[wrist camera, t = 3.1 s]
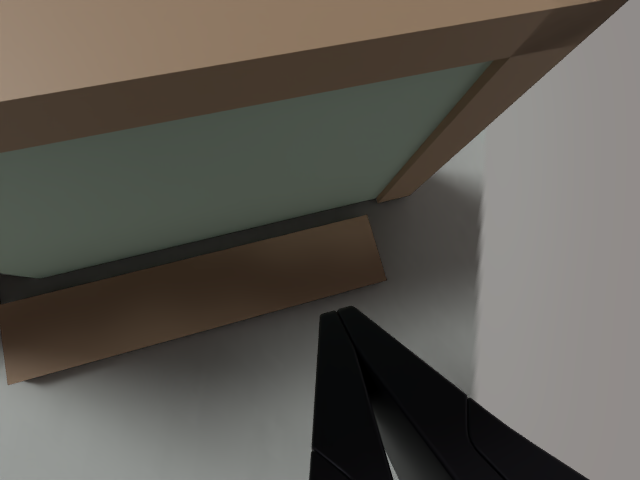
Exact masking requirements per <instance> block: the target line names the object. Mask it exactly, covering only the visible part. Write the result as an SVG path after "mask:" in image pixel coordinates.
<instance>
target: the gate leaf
mask: <svg viewBox="0 0 640 480" xmlns="http://www.w3.org/2000/svg"><path fill="white" fill-rule="evenodd" d="M627 1H628V0H0V273H2V274H9V275H17V276H24V277H31V278H38V279H40V278H45V277H49V276H53V275H57V274H61V273H65V272H70V271H74V270H78V269H82V268H86V267H90V266H95V265H99V264H103V263H107V262H111V261H116V260H120V259H124V258H128V257H132V256H136V255H141V254H145V253H149V252H153V251H157V250H162V249H166V248H170V247H174V246H178V245H182V244H187V243H191V242H195V241H199V240H203V239H208V238H212V237H216V236H220V235H224V234H228V233H233V232H237V231H241V230H245V229H249V228H253V227H258V226H262V225H266V224H270V223H274V222H279V221H283V220H287V219H291V218H295V217H299V216H304V215H308V214H312V213H316V212H320V211H325V210H329V209H333V208H337V207H341V206H345V205H350V204H354V203H358V202H362V201H366V200H371V199H375V198H376V199H377V202H378V203H381V202H385V201H389V200H393V199H397V198H401V197H405V196H410V195H411V194H412V193H413V192H414V191H415V190H416V189H417V188H419V187H420V186H421V185H422V184H423V183H424V182H425V181H426V180H428V179H429V178H430V177H431V176H432V175H433V174H434V173H435V172H437V171H438V170H439V169H440V168H441V167H442V166H443V165H444V164H446V163H447V162H448V161H449V160H450V159H451V158H452V157H453V156H454V155H456V154H457V153H458V152H459V151H460V150H461V149H462V148H463V147H465V146H466V145H467V144H468V143H469V142H470V141H471V140H472V139H474V138H475V137H476V136H477V135H478V134H479V133H480V132H481V131H483V130H484V129H485V128H486V127H487V126H488V125H489V124H490V123H491V122H493V121H494V120H495V119H496V118H497V117H498V116H499V115H500V114H502V113H503V112H504V111H505V110H506V109H507V108H508V107H509V106H510V105H512V104H513V103H514V102H515V101H516V100H517V99H518V98H519V97H521V96H522V95H523V94H524V93H525V92H526V91H527V90H528V89H529V88H531V87H532V86H533V85H534V84H535V83H536V82H537V81H539V80H540V79H541V78H542V77H543V76H544V75H545V74H546V73H547V72H549V71H550V70H551V69H552V68H553V67H554V66H555V65H557V64H558V63H559V62H560V61H561V60H562V59H563V58H564V57H566V55H568V54H569V53H570V52H571V51H572V50H573V49H574V48H576V47H577V46H578V45H579V44H580V43H581V42H582V41H583V40H585V39H586V38H587V37H588V36H589V35H590V34H591V33H592V32H594V31H595V30H596V29H597V28H598V27H599V26H600V25H601V24H603V23H604V22H605V21H606V20H607V19H608V18H609V17H610V16H611V15H613V14H614V13H615V12H616V11H617V10H618V9H619V8H620V7H622V5H624V4H625V3H626V2H627Z"/></svg>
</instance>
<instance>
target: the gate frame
mask: <svg viewBox="0 0 640 480" xmlns="http://www.w3.org/2000/svg"><path fill="white" fill-rule="evenodd" d="M0 274H2V273H0ZM4 275H9V274H4ZM12 276H17V275H12ZM386 280H387V279H386V276H385V272H384V269H383V266H382V262H381V259H380V256H379V252H378V249H377V246H376V242H375V239H374V236H373V233H372V229H371V226H370V223H369V219H368V216H367V215H363V216H359V217H355V218H351V219H347V220H343V221H339V222H335V223H331V224H327V225H323V226H319V227H314V228H310V229H306V230H302V231H298V232H294V233H290V234H286V235H282V236H278V237H274V238H270V239H266V240H262V241H257V242H253V243H249V244H245V245H241V246H237V247H233V248H229V249H225V250H221V251H217V252H213V253H209V254H205V255H200V256H196V257H192V258H188V259H184V260H180V261H176V262H172V263H168V264H164V265H160V266H156V267H152V268H148V269H143V270H139V271H135V272H131V273H127V274H123V275H119V276H115V277H111V278H107V279H103V280H99V281H95V282H91V283H86V284H82V285H78V286H74V287H70V288H66V289H62V290H58V291H54V292H50V293H46V294H42V295H38V296H34V297H29V298H25V299H21V300H17V301H13V302H9V303H5V304H1V301H0V329H1V337H2V344H3V352H4V360H5V367H6V375H7V383H8V385H10V384H14V383H18V382H21V381H25V380H29V379H32V378H36V377H39V376H43V375H47V374H50V373H54V372H58V371H61V370H65V369H68V368H72V367H76V366H79V365H83V364H86V363H90V362H94V361H97V360H101V359H104V358H108V357H112V356H115V355H119V354H122V353H126V352H130V351H133V350H137V349H141V348H144V347H148V346H151V345H155V344H159V343H162V342H166V341H169V340H173V339H177V338H180V337H184V336H187V335H191V334H195V333H198V332H202V331H205V330H209V329H213V328H216V327H220V326H223V325H227V324H231V323H234V322H238V321H242V320H245V319H249V318H252V317H256V316H260V315H263V314H267V313H270V312H274V311H278V310H281V309H285V308H288V307H292V306H296V305H299V304H303V303H306V302H310V301H314V300H317V299H321V298H325V297H328V296H332V295H335V294H339V293H343V292H346V291H350V290H353V289H357V288H361V287H364V286H368V285H371V284H375V283H379V282H382V281H386Z"/></svg>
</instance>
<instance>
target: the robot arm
mask: <svg viewBox="0 0 640 480" xmlns="http://www.w3.org/2000/svg"><path fill="white" fill-rule="evenodd" d="M385 451H386V453H387V455H388V457H389V459H390V461H391V463H392V466H393V468H394V470H395V472H396V474H397V476H398V478H399V480H589V479H587V478H586V477H584V476H583V475H581V474H580V473H578V472H577V471H575V470H573V469H572V468H570V467H569V466H567V465H566V464H564V463H563V462H561V461H560V460H558V459H556V458H555V457H553V456H551V455H550V454H549V453H547V452H546V451H544V450H543V449H541V448H539V447H538V446H536V445H535V444H533V443H532V442H530V441H529V440H527V439H526V438H525V437H523V436H522V435H520V434H519V433H517V432H516V431H514V430H513V429H511V428H510V427H508V426H507V425H506V424H504V423H503V422H502V421H500V420H499V419H498V418H496V417H495V416H494V415H492V414H491V413H490V412H488V411H487V410H485V409H484V408H483V407H482V406H480V405H479V404H478V403H477V402H475V401H474V400H473V399H472V398H467V395H466V394H465V393H464V392H462V391H461V390H460V389H459V388H457V387H456V386H455V385H453V384H452V383H451V382H450V381H448V380H447V379H446V378H445V377H443V376H442V375H441V374H439V373H438V372H437V371H436V370H434V369H433V368H432V367H430V366H429V365H428V364H427V363H425V362H424V361H423V360H422V359H420V358H419V357H418V356H416V355H415V354H414V353H413V352H411V351H410V350H409V349H407V348H406V347H405V346H404V345H402V344H401V343H400V342H399V341H397V340H396V339H395V338H393V337H392V336H391V335H390V334H388V333H387V332H386V331H385V330H383V329H382V328H381V327H379V326H378V325H377V324H376V323H374V322H373V321H372V320H370V319H369V318H368V317H367V316H365V315H364V314H363V313H362V312H360V311H359V310H358V309H356V308H355V307H353V306H348V307H345V308H341V309H339V310H337V312H336V311H331V312H327V313H324V314H321V315H320V322H319V338H318V354H317V369H316V385H315V401H314V417H313V432H312V452H311V460H310V475H309V480H393V477H392V473H391V470H390V466H389V463H388V460H387V456H386V453H385Z"/></svg>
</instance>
